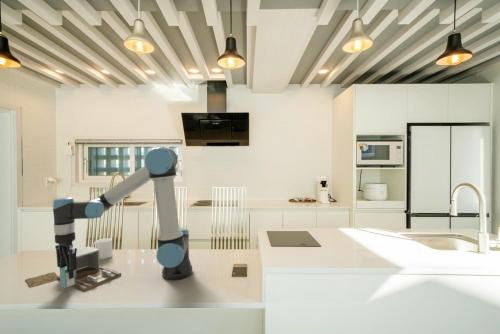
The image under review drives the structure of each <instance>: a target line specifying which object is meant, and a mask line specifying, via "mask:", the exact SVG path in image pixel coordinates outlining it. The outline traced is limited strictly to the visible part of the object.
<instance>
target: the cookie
mask: <svg viewBox="0 0 500 334" xmlns="http://www.w3.org/2000/svg"><path fill="white" fill-rule="evenodd" d="M57 276H58V275H57V273H56V272H55V271H54V272H48V273H45V274H40V275H38V276H34V277H29V278H25V280H24V281H25V283H26V284H27V286H28V287H30V289H32V288H35V287H39V286H41V285H45V284H49V283H51V282H56V281H60V280H59V279H58V278H57Z"/></svg>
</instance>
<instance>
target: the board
mask: <svg viewBox="0 0 500 334" xmlns="http://www.w3.org/2000/svg"><path fill="white" fill-rule="evenodd" d="M121 276H122V272H119V271H116V270H113V269H110V268H107V267H105V266H102V265H100V269H96V268H93V267H91V266H86V267H83V268H80V269H77V270H76V278H75V284H74V285H71V286H72V287H74V288H76V289H79V290H81V291H84V292H85V291H88V290H91V289H92V288H95V287H97V286H100V285H102V284H104V283H107V282H109V281H111V280H114V279H116V278H119V277H121ZM57 278H58V279H59V280H58V281H60V274H59V275H57Z"/></svg>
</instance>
